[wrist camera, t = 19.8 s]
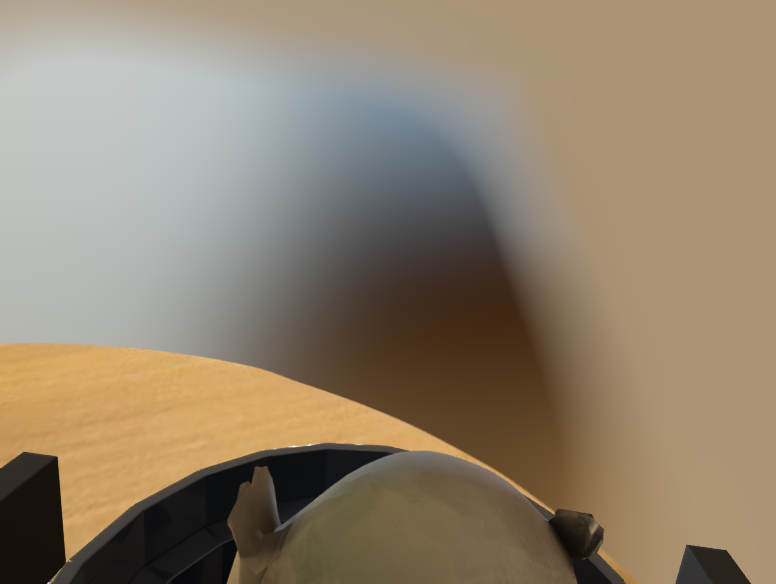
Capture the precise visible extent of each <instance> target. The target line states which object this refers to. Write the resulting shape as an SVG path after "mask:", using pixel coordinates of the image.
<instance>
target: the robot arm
mask: <svg viewBox="0 0 776 584" xmlns="http://www.w3.org/2000/svg"><path fill="white" fill-rule="evenodd" d="M65 564H66V558H65V545H64V532H63V520H62V507H61V494H60V481H59V468H58V457H57V456H50V455H43V454H35V453H28V452H23V453H22V454H20V455H19V456H17V457H16V458H15V459H13V460H12V461H10V462H9V463H8V464H6V465H5V466H3V467H2V468H0V584H47V583H48V582H49V581H50V580H51V579H52V578H53V577H54V576H55V575H56V573H57V572H58V571H59V570H60V569H61V568H62V567H63V566H64V565H65ZM676 584H751V583H750V582H749V580H748V579H747V578H746V576H745V575H744V574H743V572H742V571H741V569H740V568H739V567H738V565H737V564H736V563H735V561H734V560H733V559H732V557H731V556H730V555H729V553H728V552H727V551H726V550H721V549H713V548H706V547H699V546H691V545H686V548H685V552H684V555H683V559H682V563H681V566H680V570H679V573H678V577H677V580H676Z"/></svg>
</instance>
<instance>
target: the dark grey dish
mask: <svg viewBox="0 0 776 584" xmlns="http://www.w3.org/2000/svg"><path fill="white" fill-rule="evenodd" d="M400 452H408V450H403V449H399V448H394V447H390V446H389V447H388V446H380V445H362V444H343V443H321V444H312V445H304V446H295V447H287V448H278V449H270V450H264V451H259V452H256V453H253V454H249V455H246V456H243V457H240V458H236V459H233V460H230V461H227V462H223V463H220V464H217V465H213V466H210V467H207V468H204V469H200V470H199V471H196V472H194V473H192V474H191V475H189V476H187V477H185V478H183V479H181V480H179V481H177V482H176V483H174V484H172V485H170V486H168V487H166V488H164V489H162V490H161V491H159V492H157V493H155V494H153V495H151V496H149V497H147V498H146V499H144V500H142V501H140V502H138V503H136V504H134V506H131V507H130V508H129V509H128V510H127V511H126V512H124V513H123V514H122V515H121V516H120V517H118V518H117V519H116V520H115V521H114V522H113V523H111V524H110V525H109V526H108V527H107V528H106V529H104V530H103V531H102V532H101V533H100V534H98V535H97V536H96V537H95V538H94V539H93V540H91V541H90V542H89V543H88V544H87V545H86V546H84V547H83V548H82V549H81V550H80V551H78V552H77V553H76V554H75V555H74V556H73V557H71V558H70V559H69V560H68V562H66V564H65V565H64V566H63V568H62V569H61V571H60V572H59V573H58V575H57V576H56V578H55V579H54V580H53V582H52V583H51V584H227V581H228V578H229V575H230V572H231V569H232V566H233V563H234V560H235V557H236V554H237V550H238V549H237V546H236V543H235V540H234V537H233V534H232V531H231V529H230V527H229V526H228V517H229V515H230V513H231V511H232V509H233V507H234V505H235V503H236V501H237V498H238V493H239V488H240V485H241V484H243V483H245V482H247V481H249V482H250V484H252V479H253V475H254V471H255V467H257V466H258V467H265V466H267V467H268V470H269V473H270V475H271V477H272V479H273V485H274V489H275V497H276V505H277V511H278V516H279V520H280V523H281V525H282V524H283V523H285V522H286V521H287V520H289V519H290V518H292V517H293V516H294V515H296V514H297V513H298V512H300V511H301V510H302V509H304V508H305V507H306V506H307V505H309V504H310V503H311V502H312V501H314V500H315V499H316V498H317V497H319V496H320V495H321V494H323V493H324V492H325V491H326V490H328V489H329V488H330V487H331V486H333V485H334V484H335V483H337V482H338V481H340V480H341V479H342V478H344V477H345V476H347V475H348V474H350V473H352V472H353V471H355V470H357V469H359V468H361V467H362V466H364V465H366V464H369V463H371V462H373V461H376V460H378V459H380V458H383V457H386V456H389V455H392V454H396V453H400ZM524 496H525V495H524ZM525 497H526V496H525ZM526 498H527V499H528V500H529V501H530V502H531V503H532V505H533V506H534V507H535V508H536V509H537V510H538V511H539V512H540V513H541V515H542V516H543V517H544V518H545V519H546V520H547V521H549V520H550V519H552V518H553V517H554V516H555V515H554V514H552V513H551V512H549V511H548V510H546V509H545V508H543V507H542V506H540V505H539V504H537V503H536V502H534V501H533V500H531V499H530V498H528V497H526ZM572 563H573V567H574V572H575V576H576V580H577V583H578V584H626V583H625V582H624V580H623V579H622V578H621V577H620V576H619V575H618V574H617V573H616V572H615V571H614V570H613V569H612V568H611V567H610V566H609V565H608V564H607V563H606V561H605V560H604V559H603V558H602V557H601V556H600V555H599V554H598V553H596V554H594V555H593V556H591V557H589V558H588V559H586V560H579V559H572Z"/></svg>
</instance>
